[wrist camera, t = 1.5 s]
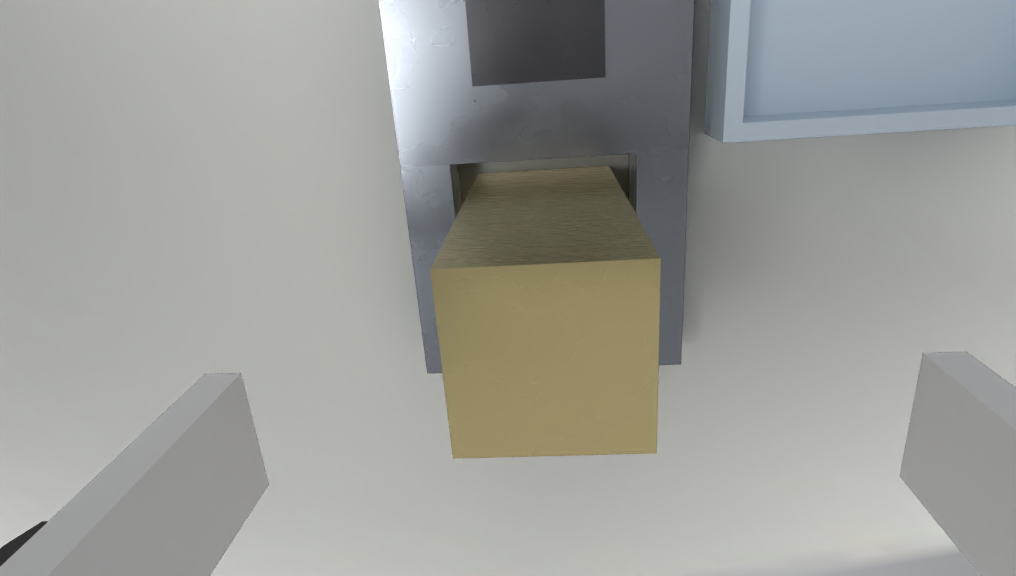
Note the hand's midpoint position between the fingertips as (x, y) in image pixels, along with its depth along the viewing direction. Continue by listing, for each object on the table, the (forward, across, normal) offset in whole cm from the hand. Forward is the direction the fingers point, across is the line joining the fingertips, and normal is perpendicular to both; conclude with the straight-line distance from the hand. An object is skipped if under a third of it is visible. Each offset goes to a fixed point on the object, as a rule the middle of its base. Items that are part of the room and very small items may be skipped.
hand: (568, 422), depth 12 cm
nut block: (+13, 0, 0) cm, 13 cm away
